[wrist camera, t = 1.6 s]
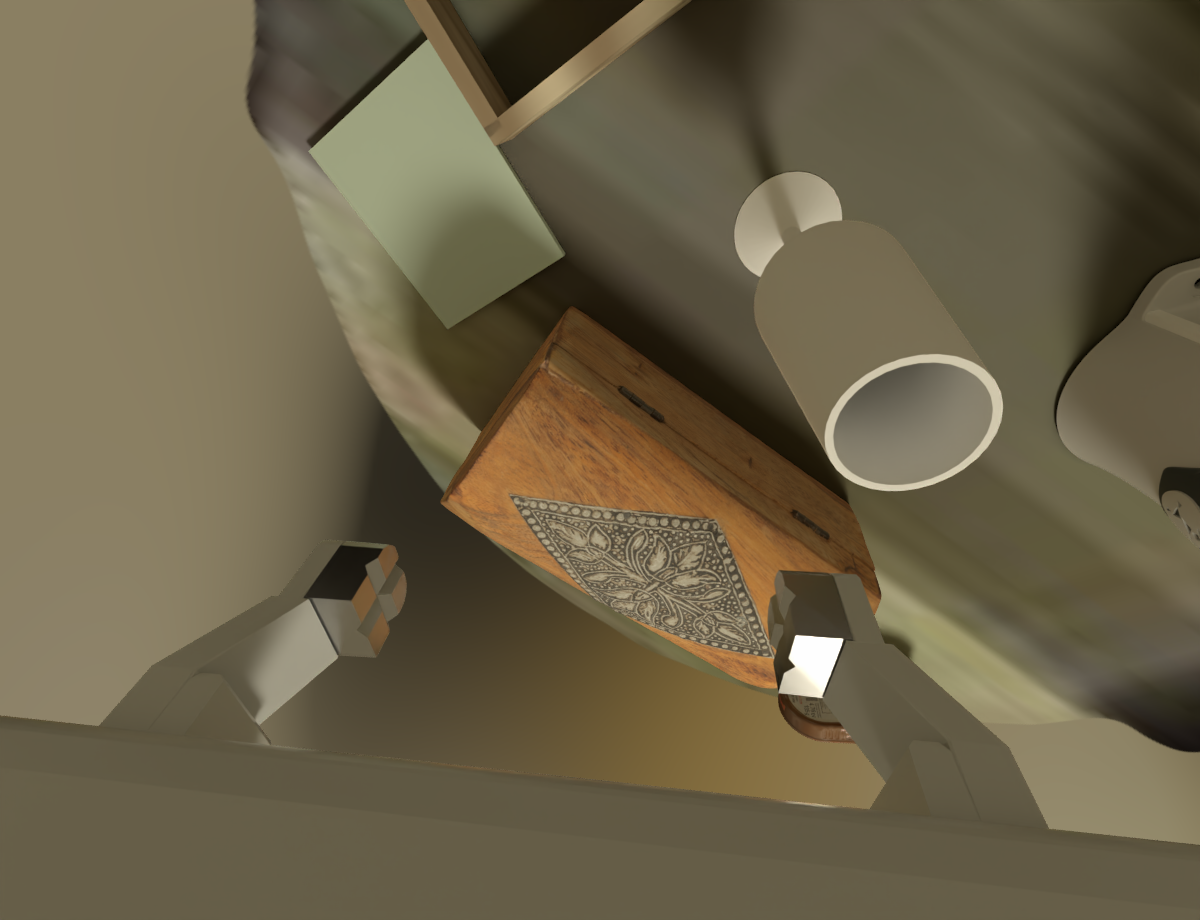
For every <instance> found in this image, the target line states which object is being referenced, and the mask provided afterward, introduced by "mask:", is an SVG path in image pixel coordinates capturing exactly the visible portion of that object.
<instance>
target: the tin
mask: <svg viewBox="0 0 1200 920" xmlns="http://www.w3.org/2000/svg"><path fill="white" fill-rule="evenodd" d="M778 703H779V708H780V711H781V713H782V715H783V717H784V719H785V720H786V721H787V722H788V724H789V725H790V726H791V727H792V728H793V729H794V730H796V731H797V732H798V733H800V734H801V735H803V736H805V737H807V738H810V739H812V740H815V741H820V742H833V743H853V744H856V743H855V742H854V740H853V739H852V738H851V736H850V735H849V734H848V733H847V731H846V730H845V729H844V727H843V726H842V725H841V723H840V722H839V721H838V720H837V718H836V717H835V716H834V714H833V713H832V712H831V710H830V709H829V708H828V707H827V705H826V704H825V703H824V701H823V698H817V697H808V696H800V695H791V694H782V693H779V695H778Z"/></svg>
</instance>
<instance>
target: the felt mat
mask: <svg viewBox="0 0 1200 920" xmlns="http://www.w3.org/2000/svg"><path fill="white" fill-rule="evenodd" d="M309 153H310V154H311V155H312V157H313V158H314V159H315V160H316V162H317V163H318V164H319V165H320V167H321V168H322V169H323V171H324V172H325V173H326V174H327V176H328V177H329V178H330V180H331V181H332V182H333V183H334V185H335V186H336V187H337V189H338V190H339V191H340V192H341V194H342V195H343V196H344V198H345V199H346V200H347V201H348V203H349V204H350V205H351V206H352V208H353V209H354V210H355V212H356V213H357V214H358V215H359V217H360V218H361V219H362V221H363V222H364V223H365V224H366V226H367V227H368V228H369V230H370V231H371V232H372V233H373V235H374V236H375V237H376V238H377V240H378V241H379V242H380V244H381V245H382V246H383V247H384V249H385V250H386V251H387V253H388V254H389V255H390V256H391V258H392V259H393V260H394V262H395V263H396V264H397V265H398V267H399V268H400V269H401V271H402V272H403V273H404V274H405V276H406V277H407V278H408V279H409V281H410V282H411V283H412V285H413V286H414V287H415V288H416V290H417V291H418V292H419V294H420V295H421V296H422V297H423V299H424V300H425V301H426V303H427V304H428V305H429V306H430V308H431V309H432V310H433V311H434V313H435V314H436V315H437V317H438V318H439V319H440V320H441V322H442V323H443V324H444V326H445V327H446V328H447V329H449V328H451V327H452V326H454V325H455V324H457V323H459V322H460V321H462V320H463V319H465V318H467V317H468V316H470V315H471V314H473V313H475V312H476V311H478V310H479V309H481V308H482V307H484V306H486V305H487V304H489V303H490V302H492V301H494V300H495V299H497V298H498V297H500V296H502V295H503V294H505V293H506V292H508V291H509V290H511V289H513V288H514V287H516V286H517V285H519V284H521V283H522V282H524V281H525V280H527V279H529V278H530V277H532V276H533V275H535V274H536V273H538V272H540V271H541V270H543V269H544V268H546V267H548V266H549V265H551V264H552V263H554V262H556V261H557V260H559V259H560V258H562V257H563V256H564V255H565V254H566V253H565V252H564V250H563V249H562V247H561V245H560V244H559V242H558V240H557V239H556V237H555V236H554V234H553V232H552V231H551V229H550V228H549V226H548V224H547V223H546V221H545V219H544V218H543V216H542V215H541V213H540V211H539V210H538V208H537V206H536V205H535V203H534V202H533V200H532V198H531V197H530V195H529V194H528V192H527V190H526V189H525V187H524V185H523V184H522V182H521V181H520V179H519V177H518V176H517V174H516V172H515V171H514V169H513V168H512V166H511V164H510V163H509V161H508V160H507V158H506V156H505V155H504V153H503V151H502V150H501V148H500V147H499V145H497V146H494V144H493V143H492V141H491V140H490V138H489V136H488V135H487V133H486V131H485V130H484V128H483V127H482V125H481V123H480V122H479V120H478V119H477V117H476V115H475V114H474V112H473V111H472V109H471V107H470V106H469V104H468V103H467V101H466V99H465V98H464V96H463V94H462V93H461V91H460V90H459V88H458V86H457V85H456V83H455V82H454V80H453V78H452V77H451V75H450V74H449V72H448V70H447V69H446V67H445V65H444V64H443V62H442V61H441V59H440V57H439V56H438V54H437V53H436V51H435V49H434V48H433V46H432V45H431V43H430V41H429V40H428V39H427V40H426V41H425V42H424V43H423V44H422V45H421V46H420V47H419V48H418V49H417V50H416V51H415V52H413V53H412V54H411V55H410V56H409V57H408V58H407V59H406V60H405V61H404V62H403V63H402V64H401V65H400V66H399V67H398V68H396V69H395V70H394V71H393V72H392V73H391V74H390V75H389V76H388V77H387V78H386V79H385V80H384V81H383V82H382V83H381V84H379V85H378V86H377V87H376V88H375V89H374V90H373V91H372V92H371V93H370V94H369V95H368V96H367V97H366V98H365V99H364V100H363V101H361V102H360V103H359V104H358V105H357V106H356V107H355V108H354V109H353V110H352V111H351V112H350V113H349V114H348V115H347V116H346V117H344V118H343V119H342V120H341V121H340V122H339V123H338V124H337V125H336V126H335V127H334V128H333V129H332V130H331V131H330V132H329V133H327V134H326V135H325V136H324V137H323V138H322V139H321V140H320V141H319V142H318V143H317V144H316V145H315V146H314V147H313V148H312V149H310V150H309Z"/></svg>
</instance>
